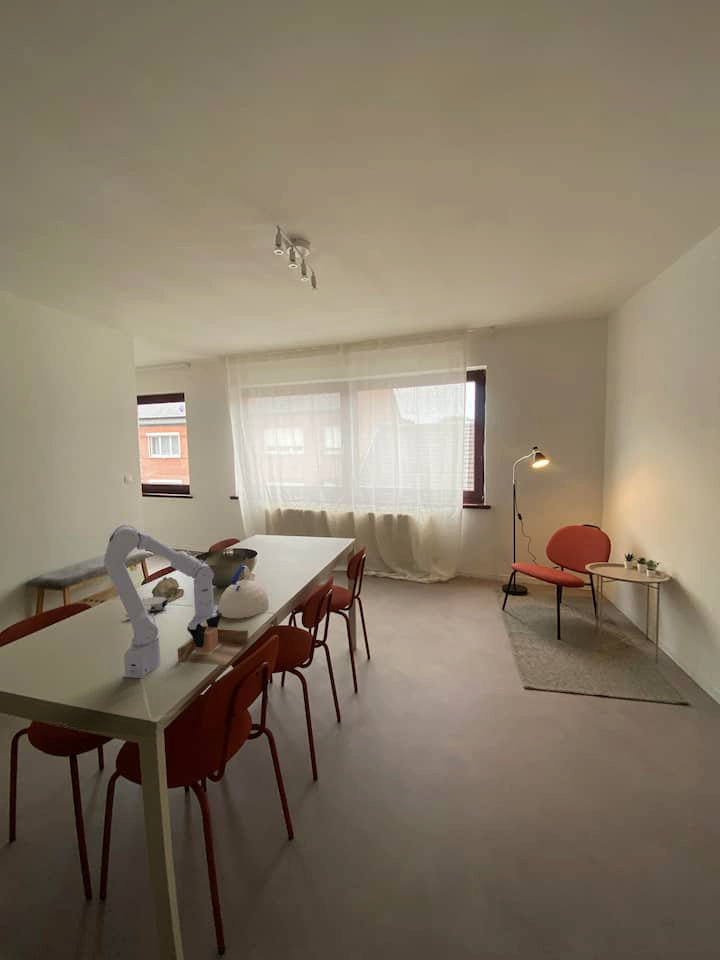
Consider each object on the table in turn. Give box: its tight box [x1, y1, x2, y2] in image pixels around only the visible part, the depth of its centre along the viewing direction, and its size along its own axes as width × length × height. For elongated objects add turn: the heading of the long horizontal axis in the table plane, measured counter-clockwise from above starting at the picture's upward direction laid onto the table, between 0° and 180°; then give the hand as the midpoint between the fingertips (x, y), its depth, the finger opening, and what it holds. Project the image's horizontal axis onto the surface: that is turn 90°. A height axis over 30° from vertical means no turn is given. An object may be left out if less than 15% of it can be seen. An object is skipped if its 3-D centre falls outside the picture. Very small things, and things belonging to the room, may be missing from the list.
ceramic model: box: [151, 576, 185, 604], centre depth 179 cm, size 14×11×10 cm
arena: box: [177, 627, 249, 666], centre depth 128 cm, size 15×16×5 cm
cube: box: [195, 626, 218, 652], centre depth 129 cm, size 5×5×6 cm
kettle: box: [218, 565, 270, 619], centre depth 164 cm, size 20×21×18 cm
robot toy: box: [125, 596, 171, 618], centre depth 163 cm, size 12×4×15 cm
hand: (206, 641), depth 129 cm, fingers open, 7 cm apart
